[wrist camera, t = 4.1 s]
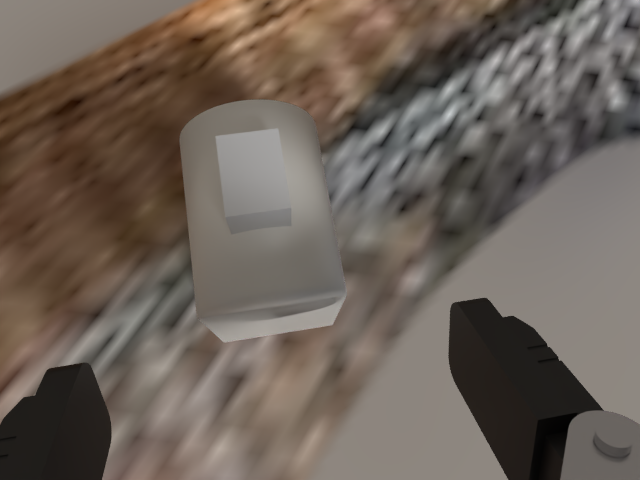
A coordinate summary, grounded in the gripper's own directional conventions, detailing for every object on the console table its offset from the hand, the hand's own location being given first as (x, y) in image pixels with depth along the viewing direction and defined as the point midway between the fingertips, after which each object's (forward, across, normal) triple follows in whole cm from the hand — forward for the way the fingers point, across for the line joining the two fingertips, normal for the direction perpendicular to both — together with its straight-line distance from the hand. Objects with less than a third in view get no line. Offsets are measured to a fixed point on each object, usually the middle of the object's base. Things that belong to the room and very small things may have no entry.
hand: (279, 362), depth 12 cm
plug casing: (+10, 0, +3) cm, 10 cm away
